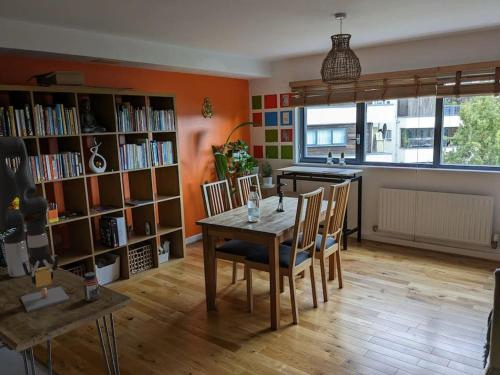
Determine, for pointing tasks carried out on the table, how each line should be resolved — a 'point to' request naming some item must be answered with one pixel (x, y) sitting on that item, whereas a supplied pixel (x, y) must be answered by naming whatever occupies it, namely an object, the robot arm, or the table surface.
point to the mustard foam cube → (43, 277)
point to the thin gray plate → (44, 298)
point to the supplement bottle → (91, 287)
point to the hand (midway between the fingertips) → (43, 281)
